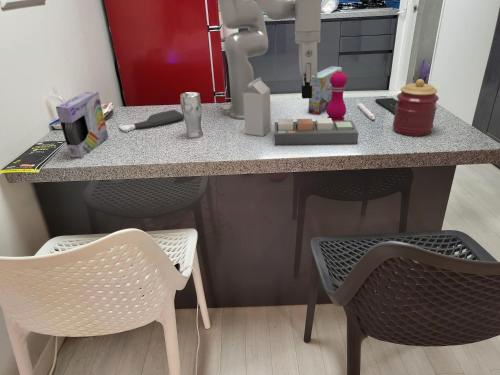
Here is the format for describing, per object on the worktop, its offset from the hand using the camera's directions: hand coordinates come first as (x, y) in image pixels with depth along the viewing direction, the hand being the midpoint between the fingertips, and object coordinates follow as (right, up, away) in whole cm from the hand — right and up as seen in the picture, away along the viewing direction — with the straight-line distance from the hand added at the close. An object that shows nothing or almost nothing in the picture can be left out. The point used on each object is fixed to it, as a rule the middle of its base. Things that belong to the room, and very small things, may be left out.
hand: (306, 97), depth 121 cm
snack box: (+13, +5, +37) cm, 40 cm away
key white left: (-6, -10, +7) cm, 14 cm away
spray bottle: (-58, -4, +28) cm, 64 cm away
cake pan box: (-74, -16, +9) cm, 76 cm away
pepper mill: (+14, -5, +20) cm, 25 cm away
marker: (+28, 0, +27) cm, 39 cm away
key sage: (+13, -11, +6) cm, 18 cm away
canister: (+38, -9, +10) cm, 41 cm away
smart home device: (+41, +3, +33) cm, 53 cm away
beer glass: (-38, -10, +15) cm, 43 cm away
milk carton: (-15, -9, +15) cm, 23 cm away
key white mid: (+7, -10, +6) cm, 13 cm away
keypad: (+4, -12, +7) cm, 15 cm away
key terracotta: (0, -10, +6) cm, 12 cm away
